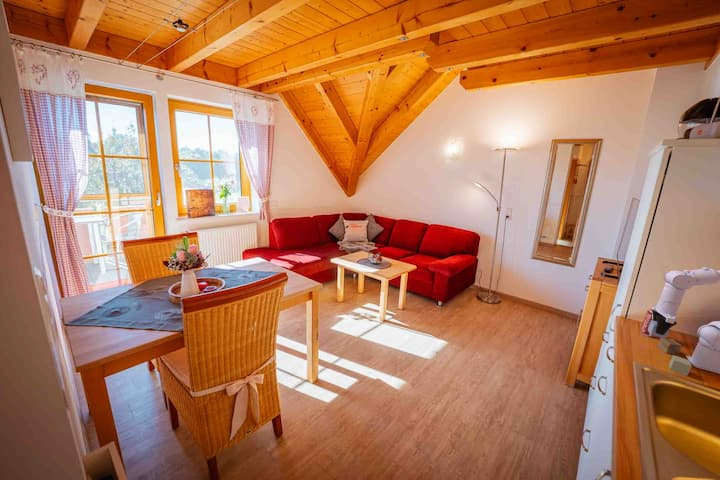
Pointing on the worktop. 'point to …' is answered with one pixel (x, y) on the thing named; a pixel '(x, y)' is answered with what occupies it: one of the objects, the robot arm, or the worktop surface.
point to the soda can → (647, 323)
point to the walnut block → (669, 346)
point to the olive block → (680, 365)
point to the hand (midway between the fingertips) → (657, 331)
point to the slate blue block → (653, 330)
